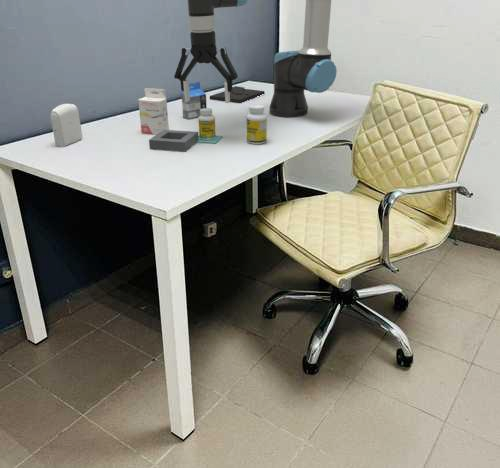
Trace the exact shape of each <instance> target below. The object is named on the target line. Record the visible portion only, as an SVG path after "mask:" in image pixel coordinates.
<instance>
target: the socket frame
mask: <svg viewBox="0 0 500 468" xmlns="http://www.w3.org/2000/svg"><path fill="white" fill-rule="evenodd" d="M198 136H199V131H190V130H173V129H169V130H163V131H161V132H160V133H158V134H157V135H155V134H154V136H152V137H151V138H149V139H148V142H149V143H148V146H149V150H154V151H171V152H181V153H183V152H186V153H187V151H189V150H190V149H191V148H192V147H193V146H194V145H195V144H198V143H197V141H198V140H199V139H198Z"/></svg>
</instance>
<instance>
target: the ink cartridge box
mask: <svg viewBox="0 0 500 468" xmlns="http://www.w3.org/2000/svg"><path fill="white" fill-rule="evenodd" d="M143 90H144V95H145V96H144V97H142V98H138V110H139V119H140V120H139V122H140V131H141V134H146V135H147V134H148V135H154V136H155V135H157V134H158V133H160V132H161V131H163V130H170V127H169V116H168V114H169V113H168V102H167V100H168V99H167V95H166V89H164V88H152V87H145V88H144V89H143ZM155 92H156V93H155Z"/></svg>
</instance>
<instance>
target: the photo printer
mask: <svg viewBox="0 0 500 468" xmlns="http://www.w3.org/2000/svg"><path fill="white" fill-rule="evenodd" d="M49 117H50V122H51V127H52V132H53V133H52V134H53V138H54V144H55V145H56V146H57V147H61V148H62V147H63V146H64V147H66V146H69V145H71V144H74V143H75V142H77V141H80V140H82V139H83V132H82V124H81V120H80V114H79V109H78V107H77V105H75V103H74V104H73V103H61V104H60V105H57V106H56V107H54V108H53V109H52V110H51V111H50V113H49Z"/></svg>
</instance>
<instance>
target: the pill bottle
mask: <svg viewBox="0 0 500 468" xmlns="http://www.w3.org/2000/svg"><path fill="white" fill-rule="evenodd" d="M248 109H249V113H248V114H247V115H246V141H247V143H249V144H251V145H261V144H262V145H263V144H265V143H266V142H267V140H268V139H267V137H268V136H267V135H268V134H267V133H268V131H267V130H268V129H267V127H268V125H267V124H268V123H267V122H268V121H267V120H268V116H267V115H266V114H265V113H264V111H265V106H264V105H263V104H251V105H249V106H248Z"/></svg>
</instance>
